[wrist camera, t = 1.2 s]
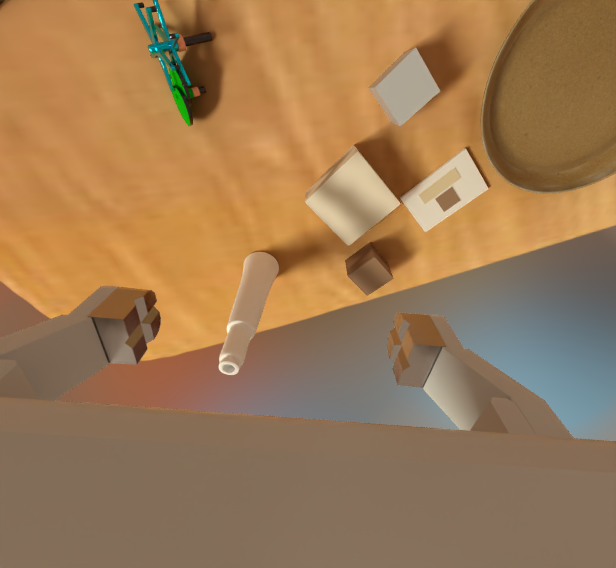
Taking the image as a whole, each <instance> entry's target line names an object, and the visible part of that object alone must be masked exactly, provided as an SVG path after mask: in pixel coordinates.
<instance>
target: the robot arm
mask: <svg viewBox="0 0 616 568" xmlns="http://www.w3.org/2000/svg"><path fill="white" fill-rule="evenodd" d="M156 302H157V299H156V295H155V293H154V292H153V291H151V290H143V289H134V288H125V287H115V286H102V287H100V288H99V289H98V290H96V291H95V292H94V293H93V294H92V295H91V296H90V297H88V298H87V299H86V300H85V301H84V302H83V303H81V304H80V305H79V306H78V307H77V308H76V309H74V310H73V311H72V312H71V313H70V314H69V315H61V316H58V317H55V318H53V319H50V320H47V321H45V322H42V323H39V324H37V325H34V326H31V327H29V328H26V329H23V330H21V331H18V332H15V333H13V334H10V335H7V336H4V337H2V338H0V568H616V441H604V440H590V439H577V438H576V439H575V438H573V436H572V435H571V434H570V433H569V431H568V430H567V429H566V427H565V426H564V425H563V424H562V422H561V421H560V420H559V418H558V417H557V416H556V414H555V413H554V412H553V411H552V409H551V408H550V407H549V405H548V404H547V403H546V402H545V400H543V399H542V398H540V397H539V396H537V395H536V394H534V393H533V392H531V391H530V390H528V389H527V388H525V387H524V386H522V385H521V384H519V383H518V382H516V381H515V380H514V379H512V378H510V377H509V376H508V375H506V374H505V373H503V372H502V371H500V370H499V369H497V368H496V367H494V366H493V365H491V364H490V363H488V362H487V361H485V360H484V359H482V358H481V357H479V356H478V355H476V354H475V353H474V352H472V351H471V350H469V349H464V348H463V346H462V345H461V343H460V342H459V340H458V338H457V337H456V335H455V334H454V332H453V330H452V329H451V327H450V325H449V324H448V322H447V320H446V319H445V317H443V316H442V315H422V314H409V313H397V314H396V316H395V319H394V321H393V323H394V325H395V328H394V329H393V330H392V331H390V333H389V337H388V344H387V349H388V355H389V358H390V359H391V360H392V361H393V362H394V366H393V372H394V375H395V378H396V382H397V385H403V386H412V387H422V388H423V390H424V391H425V392H426V393H427V394H428V395H429V396H430V397H431V398H432V399H433V400H434V401H435V402H436V404H437V405H438V406H439V407H440V408H441V409H442V410H443V411H444V412H445V413H446V415H447V416H448V417H449V418H450V419H451V420H452V421H453V422H454V423H455V424H456V425H457V426H458V428H459V429H460V430H453V429H438V428H425V427H412V426H398V425H383V424H370V423H357V422H342V421H330V420H316V419H303V418H302V419H301V418H288V417H275V416H261V415H248V414H247V415H246V414H234V413H220V412H206V411H192V410H179V409H165V408H151V407H137V406H124V405H110V404H96V403H82V402H69V401H55V400H56V399H58V398H59V397H61V396H62V395H64V394H65V393H67V392H68V391H70V390H71V389H73V388H74V387H76V386H77V385H79V384H80V383H82V382H83V381H85V380H86V379H88V378H89V377H91V376H92V375H94V374H95V373H97V372H98V371H100V370H101V369H103V368H104V367H106V366H107V365H109V363H118V364H138V362H139V361H140V359H141V358H142V356H143V355H144V354H145V352H146V351H147V345H146V343H148V342H150V341H152V340H154V339H155V337H156V335H157V334H158V331H159V328H160V325H161V317H160V312H159V311H158V310H157V309H156V308H155V307H154V305H155V303H156Z"/></svg>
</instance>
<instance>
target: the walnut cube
mask: <svg viewBox="0 0 616 568" xmlns="http://www.w3.org/2000/svg"><path fill="white" fill-rule="evenodd" d="M345 262H346V269H347V275H348V277H349V278H350V279H351V280H352V281H353V282H354V283H355V284H356V285H357V286H358V287H359V288H360V289H361V290H362V291H363V292H364V293H365V294H366V295H367V296H368V295H369V294H371V293H372V292H374V291H375V290H377V289H378V288H380V287H381V286H383V285H384V284H386V283H387V282H389V281H390V280H392V279H394V278H393V276H392V273H391V271H390V268H389V266H388V263H387V262H386V261H385V260H384V258H383V257H382V256H381V255H380V254H379V253H378V252H377V250H376V249H375V248H374V247H373V246H372V245H371V243H368V244H367V245H366V246H364V247H363V248H362V249H360V250H359V251H357V252H356V253H355V254H353V255H352V256H351V257H349V258H348V259H347V260H345Z"/></svg>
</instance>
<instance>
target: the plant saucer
mask: <svg viewBox="0 0 616 568" xmlns="http://www.w3.org/2000/svg"><path fill="white" fill-rule="evenodd" d="M481 134H482V140H483V145H484V148H485V151H486V154H487V157H488V159H489V161H490V163H491V165H492V166H493V168H494V169H495V170H496V172H497V173H498V174H499V175H500V176H501V177H502V178H503V179H504V180H506V181H507V182H508V183H510V184H511V185H513V186H515V187H517V188H520V189H522V190H525V191H529V192H535V193H561V192H567V191H572V190H576V189H580V188H583V187H586V186H589V185H591V184H594V183H596V182H599V181H601V180H603V179H605V178H607V177H609V176H611V175H613V174H615V173H616V0H532V2H531V3H530V4H529V5H528V7H527V8H526V9H525V11H524V12H523V13H522V15H521V16H520V18H519V19H518V20H517V22H516V23H515V25H514V26H513V28H512V30H511V31H510V33H509V35H508V36H507V38H506V40H505V42H504V43H503V45H502V47H501V49H500V51H499V53H498V55H497V57H496V60H495V62H494V64H493V67H492V69H491V72H490V75H489V78H488V81H487V85H486V88H485V92H484V97H483V103H482V110H481Z"/></svg>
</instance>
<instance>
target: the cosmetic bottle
mask: <svg viewBox="0 0 616 568" xmlns="http://www.w3.org/2000/svg"><path fill="white" fill-rule="evenodd" d="M278 272H279V265H278V262H277V261H276V259H275V258H274V257H273V256H272V255H270V254H268V253H266V252H254V253H251V254H250V255H248V256H247V257H246V259H245V261H244V267H243V274H242V279H241V283H240V286H239V289H238V293H237V296H236V299H235V302H234V305H233V308H232V311H231V315H230V318H229V321H228V325H227V333H228V335H227V337H226V340H225V343H224V345H223V348H222V351H221V354H220V357H219V360H220V364H219V370H220V371H221V372H222V373H225V374H227V375H233V374H236V373H237V372H238V371H239V368H240V367H241V366H242V364H243V363H244V359H245V356H246V352H247V348H248V345H249V341H250V339H252V338H253V337H254V335H255V332H256V330H257V327H258V324H259V321H260V318H261V315H262V312H263V309H264V306H265V303H266V300H267V297H268V294H269V291H270V288H271V286H272V284H273V282H274V280H275V278H276V276H277V275H278Z"/></svg>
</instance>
